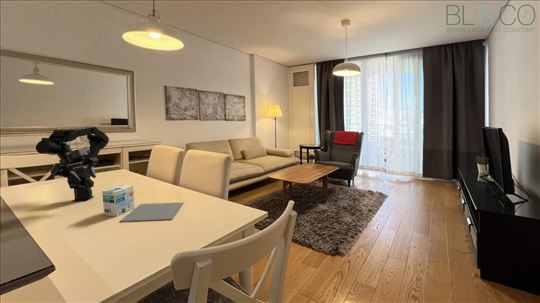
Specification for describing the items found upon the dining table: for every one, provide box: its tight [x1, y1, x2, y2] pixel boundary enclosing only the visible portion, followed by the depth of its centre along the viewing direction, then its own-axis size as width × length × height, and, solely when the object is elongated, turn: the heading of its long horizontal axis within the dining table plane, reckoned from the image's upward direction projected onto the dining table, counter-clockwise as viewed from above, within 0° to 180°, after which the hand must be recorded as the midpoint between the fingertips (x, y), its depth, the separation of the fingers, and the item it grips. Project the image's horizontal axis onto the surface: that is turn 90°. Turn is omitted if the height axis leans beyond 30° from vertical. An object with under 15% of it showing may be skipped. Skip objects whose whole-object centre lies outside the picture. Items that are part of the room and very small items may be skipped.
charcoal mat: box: [119, 201, 185, 223], centre depth 109 cm, size 20×20×1 cm
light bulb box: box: [101, 184, 136, 217], centre depth 109 cm, size 11×7×11 cm, turn 168°
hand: (87, 179), depth 112 cm, fingers open, 7 cm apart
